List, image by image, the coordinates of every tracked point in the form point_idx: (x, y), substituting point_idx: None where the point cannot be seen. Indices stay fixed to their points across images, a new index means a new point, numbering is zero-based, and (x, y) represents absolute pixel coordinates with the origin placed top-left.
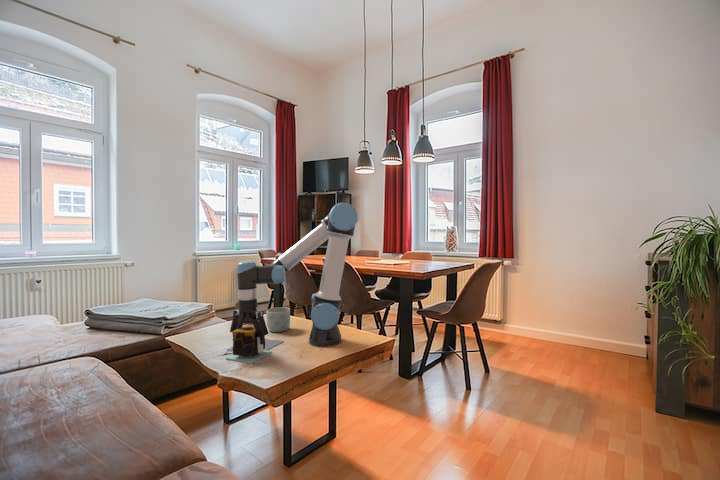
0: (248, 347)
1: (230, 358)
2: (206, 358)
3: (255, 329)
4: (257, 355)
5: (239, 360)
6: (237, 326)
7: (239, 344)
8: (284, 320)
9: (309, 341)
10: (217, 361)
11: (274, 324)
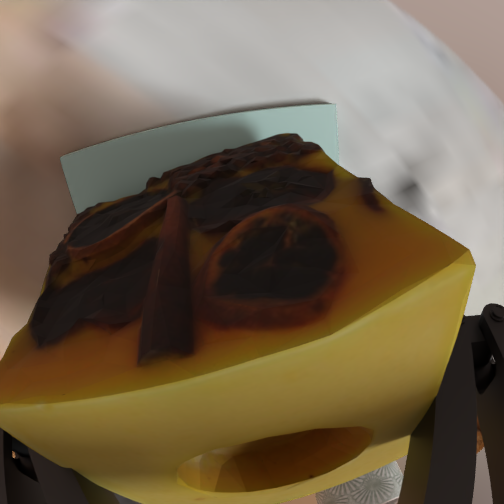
0: (110, 228)
1: (295, 111)
2: (458, 83)
3: (75, 477)
4: None
5: (186, 121)
6: (459, 416)
7: (237, 196)
8: (322, 495)
9: None
10: (362, 50)
11: None
